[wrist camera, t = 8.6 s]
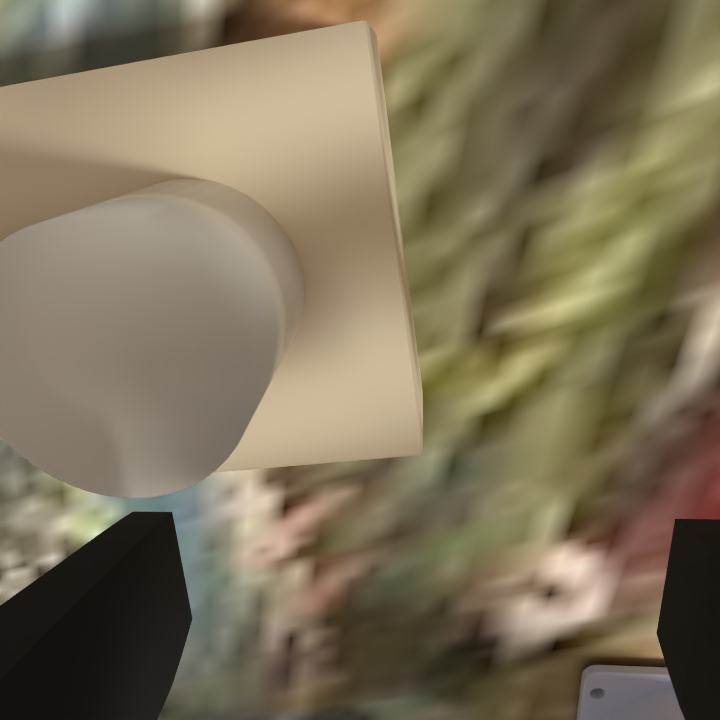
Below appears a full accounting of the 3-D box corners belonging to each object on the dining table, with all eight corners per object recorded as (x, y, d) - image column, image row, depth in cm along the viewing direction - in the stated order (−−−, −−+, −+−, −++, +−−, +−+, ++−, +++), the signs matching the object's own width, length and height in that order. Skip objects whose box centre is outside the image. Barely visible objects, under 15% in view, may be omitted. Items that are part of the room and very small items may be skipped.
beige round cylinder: (317, 377, 16) (276, 493, 11) (125, 388, 16) (10, 502, 12) (288, 168, 14) (225, 203, 9) (73, 188, 14) (-88, 232, 10)
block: (422, 388, 20) (422, 454, 16) (125, 418, 21) (64, 485, 18) (377, 37, 16) (365, 19, 13) (23, 100, 18) (-82, 101, 14)
